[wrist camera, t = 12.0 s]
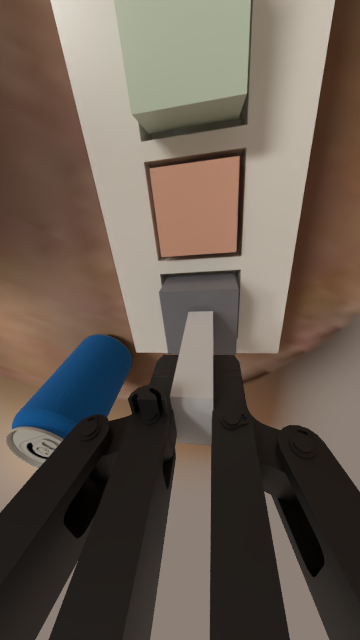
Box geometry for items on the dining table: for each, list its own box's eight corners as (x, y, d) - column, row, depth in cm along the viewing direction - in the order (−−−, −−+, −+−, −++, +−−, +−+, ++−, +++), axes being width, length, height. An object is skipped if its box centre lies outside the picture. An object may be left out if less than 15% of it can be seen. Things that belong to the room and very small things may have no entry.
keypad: (150, 324, 23) (136, 352, 19) (52, -195, 10) (-73, -506, 5) (264, 322, 21) (278, 353, 17) (337, -325, 8) (488, -952, 4)
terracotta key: (169, 248, 16) (161, 257, 14) (160, 174, 14) (149, 168, 12) (232, 243, 16) (236, 252, 13) (234, 164, 13) (239, 155, 11)
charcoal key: (174, 331, 18) (168, 353, 15) (167, 277, 16) (158, 292, 13) (232, 331, 17) (236, 354, 15) (234, 273, 15) (238, 288, 12)
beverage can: (74, 350, 27) (-12, 445, 16) (100, 320, 24) (16, 412, 14) (115, 379, 28) (60, 482, 18) (144, 354, 26) (99, 459, 15)
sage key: (149, 133, 12) (131, 114, 9) (131, -7, 9) (101, -86, 7) (238, 118, 11) (247, 93, 8) (242, -38, 9) (256, -140, 6)
